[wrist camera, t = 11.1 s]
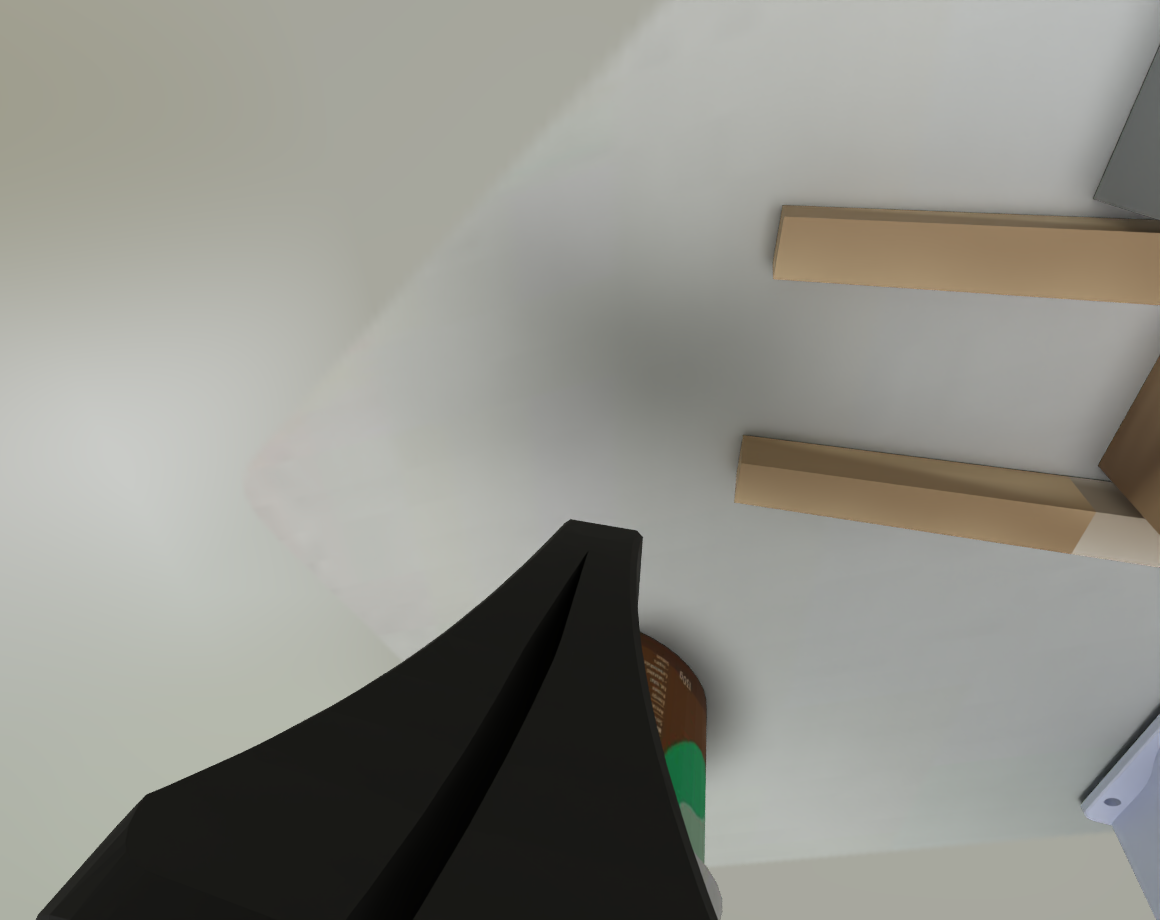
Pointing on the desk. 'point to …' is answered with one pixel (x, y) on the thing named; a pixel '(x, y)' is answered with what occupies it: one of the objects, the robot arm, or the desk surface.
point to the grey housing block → (1137, 155)
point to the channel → (978, 265)
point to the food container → (682, 742)
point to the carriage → (1139, 451)
